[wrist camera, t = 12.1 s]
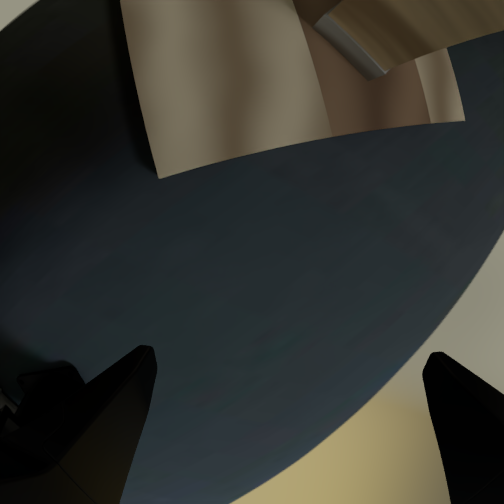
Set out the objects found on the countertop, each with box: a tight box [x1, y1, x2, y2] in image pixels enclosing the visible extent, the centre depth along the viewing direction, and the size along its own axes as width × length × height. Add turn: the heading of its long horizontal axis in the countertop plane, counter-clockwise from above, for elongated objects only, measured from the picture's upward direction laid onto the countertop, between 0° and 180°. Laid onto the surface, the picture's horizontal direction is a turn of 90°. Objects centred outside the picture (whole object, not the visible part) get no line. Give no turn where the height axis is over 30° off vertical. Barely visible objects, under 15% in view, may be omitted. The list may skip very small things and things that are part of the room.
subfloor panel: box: [120, 0, 465, 179], centre depth 16 cm, size 22×13×2 cm, turn 104°
